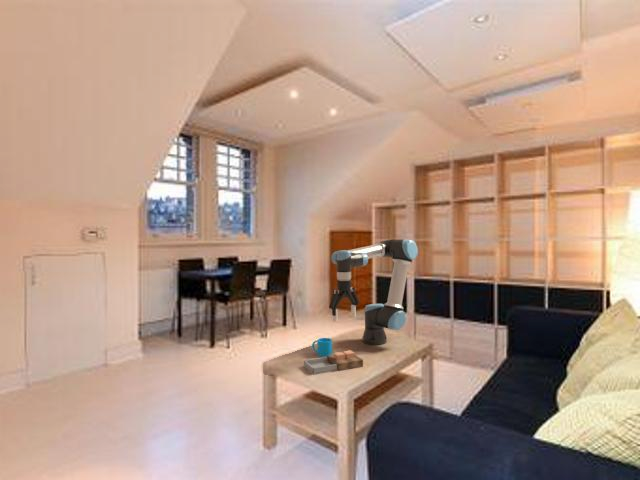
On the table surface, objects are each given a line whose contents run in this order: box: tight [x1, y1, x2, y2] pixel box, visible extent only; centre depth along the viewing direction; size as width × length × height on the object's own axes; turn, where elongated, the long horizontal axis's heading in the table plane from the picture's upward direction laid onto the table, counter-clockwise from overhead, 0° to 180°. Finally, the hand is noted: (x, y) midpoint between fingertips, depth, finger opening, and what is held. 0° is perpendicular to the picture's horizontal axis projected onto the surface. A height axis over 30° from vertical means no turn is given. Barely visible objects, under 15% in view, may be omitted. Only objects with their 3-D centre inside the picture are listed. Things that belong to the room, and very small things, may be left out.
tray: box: [303, 357, 338, 375], centre depth 200 cm, size 13×12×3 cm
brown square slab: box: [327, 353, 364, 372], centre depth 206 cm, size 14×14×4 cm
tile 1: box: [333, 351, 345, 360], centre depth 205 cm, size 4×4×2 cm
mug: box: [311, 337, 333, 358], centre depth 222 cm, size 12×8×8 cm
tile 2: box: [342, 349, 356, 359], centre depth 207 cm, size 4×4×2 cm
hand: (344, 319), depth 210 cm, fingers open, 13 cm apart
